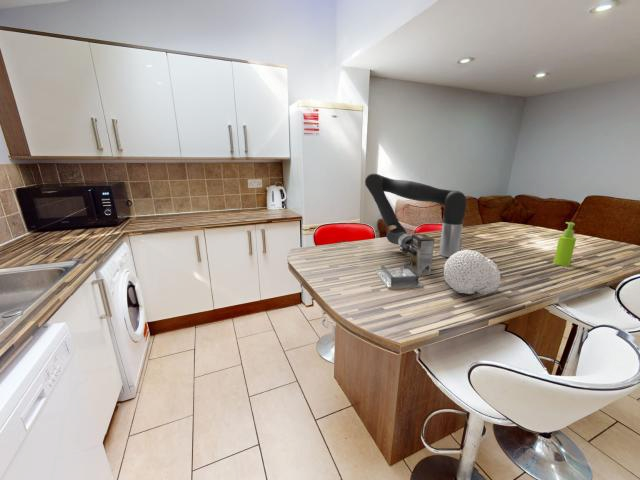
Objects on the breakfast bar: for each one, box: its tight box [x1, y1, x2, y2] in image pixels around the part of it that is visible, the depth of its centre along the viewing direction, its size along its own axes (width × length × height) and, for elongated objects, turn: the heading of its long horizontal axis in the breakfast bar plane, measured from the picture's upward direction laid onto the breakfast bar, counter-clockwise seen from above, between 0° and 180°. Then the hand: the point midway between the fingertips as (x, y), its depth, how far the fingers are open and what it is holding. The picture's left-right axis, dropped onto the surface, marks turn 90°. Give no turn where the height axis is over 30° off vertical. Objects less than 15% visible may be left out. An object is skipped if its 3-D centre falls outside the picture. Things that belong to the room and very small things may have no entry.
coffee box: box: [408, 233, 436, 276], centre depth 120 cm, size 9×6×16 cm
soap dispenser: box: [553, 221, 577, 267], centre depth 127 cm, size 6×7×20 cm
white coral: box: [443, 249, 502, 296], centre depth 102 cm, size 20×18×16 cm
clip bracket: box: [375, 264, 424, 290], centre depth 113 cm, size 14×17×4 cm
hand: (423, 253), depth 118 cm, fingers closed on coffee box, 6 cm apart
